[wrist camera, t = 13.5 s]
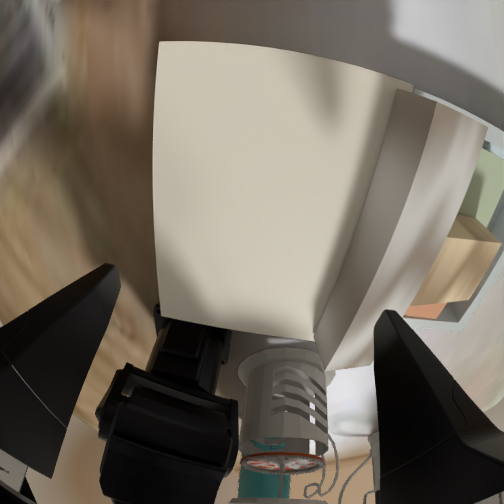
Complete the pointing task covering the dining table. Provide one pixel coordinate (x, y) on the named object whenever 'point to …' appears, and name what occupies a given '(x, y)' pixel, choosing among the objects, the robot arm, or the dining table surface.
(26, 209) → the dining table surface
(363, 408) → the dining table surface
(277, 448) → the beverage bottle
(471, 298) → the box
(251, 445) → the french press
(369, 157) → the cream riser block
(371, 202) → the scraper
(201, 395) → the robot arm
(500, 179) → the sage tile
